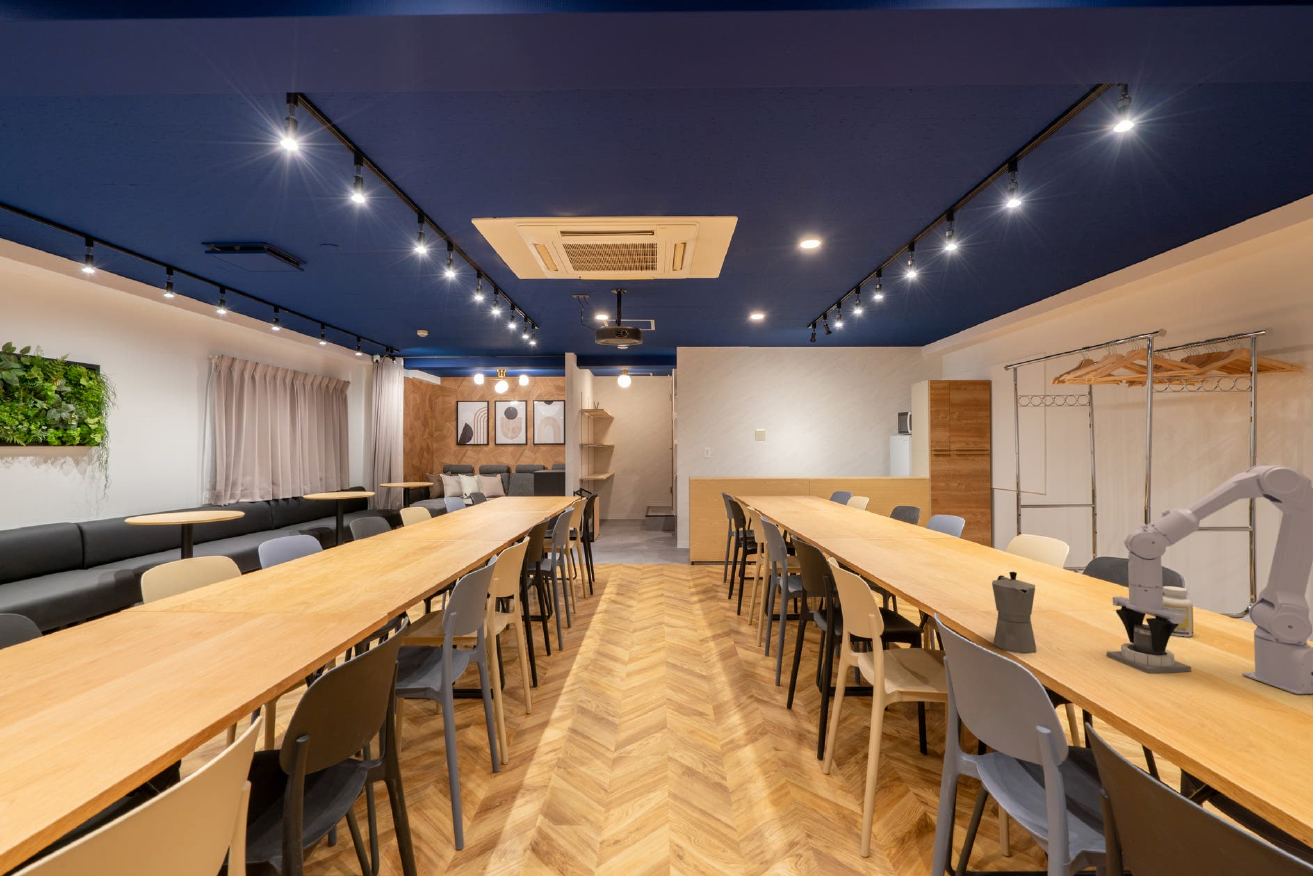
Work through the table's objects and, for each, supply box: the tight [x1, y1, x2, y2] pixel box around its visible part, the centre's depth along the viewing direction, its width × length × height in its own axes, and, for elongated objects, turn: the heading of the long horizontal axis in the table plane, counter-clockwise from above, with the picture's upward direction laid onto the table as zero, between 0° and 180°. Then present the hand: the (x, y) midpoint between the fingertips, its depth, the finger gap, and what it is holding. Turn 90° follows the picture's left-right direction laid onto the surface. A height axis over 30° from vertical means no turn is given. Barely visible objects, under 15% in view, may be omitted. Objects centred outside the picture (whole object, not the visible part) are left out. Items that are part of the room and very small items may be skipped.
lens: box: [1133, 624, 1163, 655], centre depth 124 cm, size 5×5×6 cm
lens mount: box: [1105, 642, 1192, 674], centre depth 124 cm, size 10×10×3 cm
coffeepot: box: [991, 571, 1037, 654], centre depth 136 cm, size 15×9×18 cm, turn 168°
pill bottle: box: [1163, 585, 1194, 638], centre depth 144 cm, size 6×6×12 cm
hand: (1146, 646), depth 124 cm, fingers closed on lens, 5 cm apart
